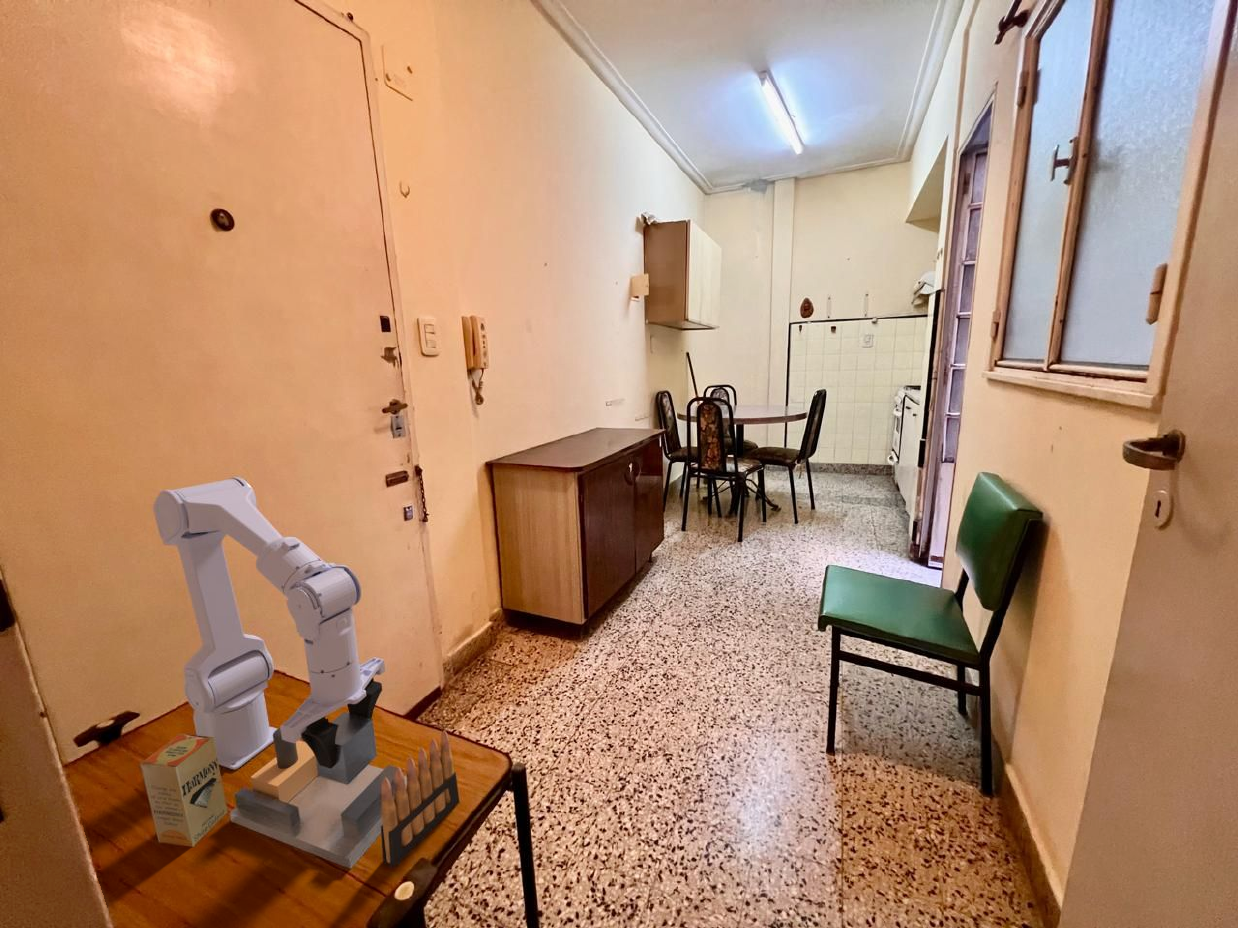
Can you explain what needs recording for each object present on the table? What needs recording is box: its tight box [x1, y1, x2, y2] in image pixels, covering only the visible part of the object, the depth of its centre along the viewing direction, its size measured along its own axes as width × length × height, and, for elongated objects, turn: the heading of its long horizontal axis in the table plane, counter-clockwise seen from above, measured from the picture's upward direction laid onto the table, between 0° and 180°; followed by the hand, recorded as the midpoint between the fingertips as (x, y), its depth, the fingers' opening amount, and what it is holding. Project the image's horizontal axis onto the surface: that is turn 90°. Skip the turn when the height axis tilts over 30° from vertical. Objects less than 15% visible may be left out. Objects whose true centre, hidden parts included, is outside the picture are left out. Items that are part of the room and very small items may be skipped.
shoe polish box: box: [139, 733, 229, 848], centre depth 63 cm, size 5×5×12 cm
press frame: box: [229, 739, 407, 870], centre depth 67 cm, size 20×12×5 cm, turn 72°
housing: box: [316, 711, 378, 785], centre depth 66 cm, size 6×5×6 cm
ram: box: [250, 727, 318, 803], centre depth 68 cm, size 5×7×8 cm
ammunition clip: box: [380, 729, 460, 868], centre depth 63 cm, size 11×2×12 cm, turn 150°
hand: (345, 748), depth 66 cm, fingers closed on housing, 5 cm apart
